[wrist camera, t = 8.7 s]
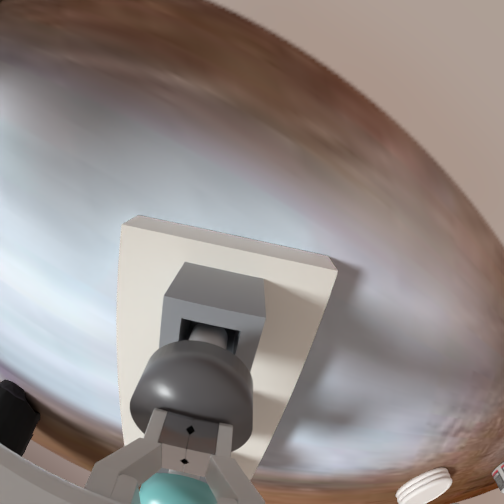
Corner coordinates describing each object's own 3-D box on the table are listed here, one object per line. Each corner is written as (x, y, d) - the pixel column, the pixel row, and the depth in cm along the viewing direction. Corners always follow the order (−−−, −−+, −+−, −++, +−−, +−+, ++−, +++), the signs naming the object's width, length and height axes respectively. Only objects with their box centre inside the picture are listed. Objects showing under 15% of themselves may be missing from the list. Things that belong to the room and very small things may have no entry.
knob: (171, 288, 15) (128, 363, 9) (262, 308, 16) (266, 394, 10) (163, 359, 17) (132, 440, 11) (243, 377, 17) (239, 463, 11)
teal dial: (156, 418, 17) (130, 501, 10) (229, 434, 17) (222, 521, 11) (155, 455, 18) (136, 525, 12) (218, 468, 18) (211, 541, 12)
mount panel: (138, 215, 21) (83, 246, 13) (327, 256, 22) (361, 306, 14) (132, 436, 29) (114, 488, 21) (250, 461, 30) (249, 516, 22)
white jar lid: (401, 500, 36) (405, 514, 33) (389, 488, 34) (394, 504, 31) (449, 475, 35) (454, 488, 31) (443, 459, 32) (451, 474, 29)
